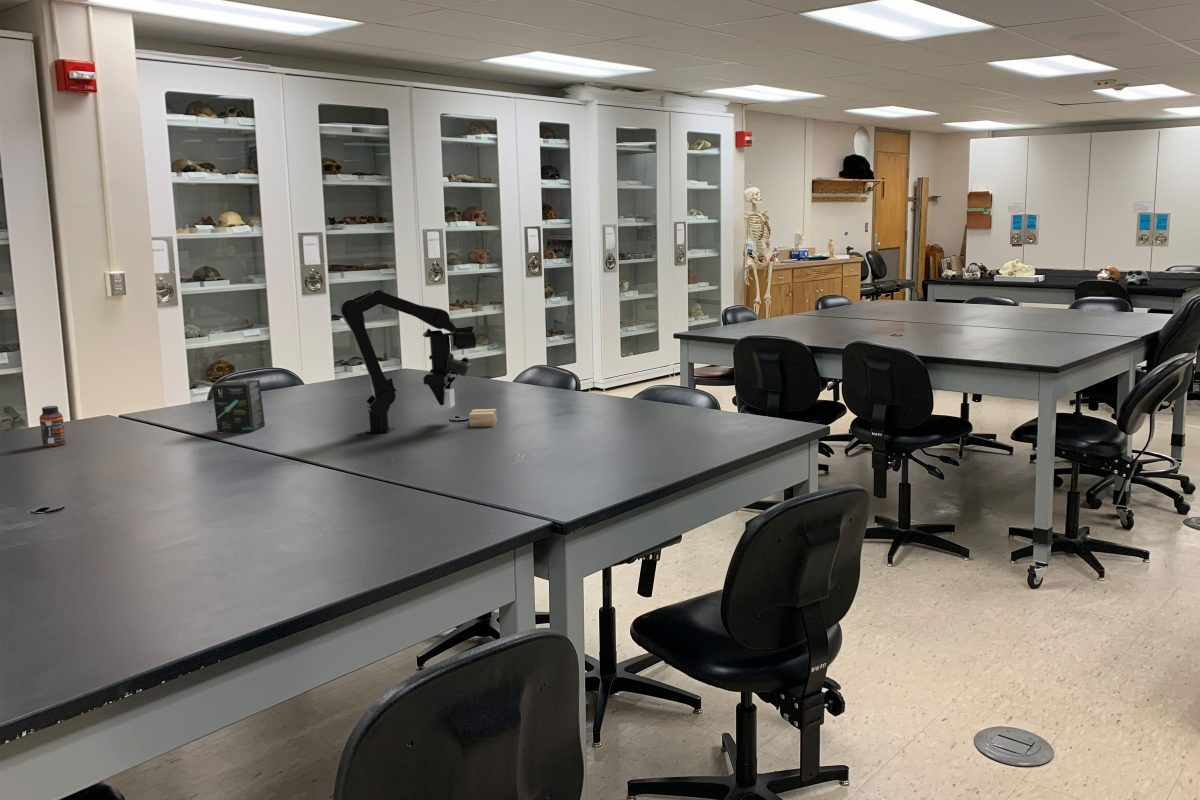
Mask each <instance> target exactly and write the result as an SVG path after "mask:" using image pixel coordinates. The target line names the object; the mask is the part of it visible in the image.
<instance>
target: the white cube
mask: <svg viewBox="0 0 1200 800" xmlns="http://www.w3.org/2000/svg"><path fill="white" fill-rule="evenodd" d="M432 396H433V398H432V400H433V409H440V410H441V409H444V410H445V409H452V408H453V407H455V405H456V401H455V400H456V399H455V389H454V388H451V389H445V397H444V405H440V404H439V402H438V401H437V399H436V397H435V395H434V393H433V392H432Z"/></svg>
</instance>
